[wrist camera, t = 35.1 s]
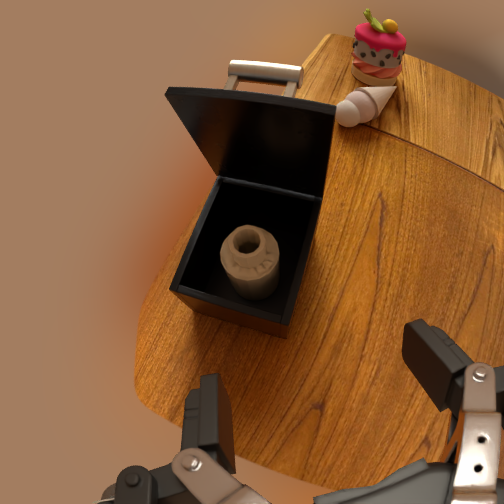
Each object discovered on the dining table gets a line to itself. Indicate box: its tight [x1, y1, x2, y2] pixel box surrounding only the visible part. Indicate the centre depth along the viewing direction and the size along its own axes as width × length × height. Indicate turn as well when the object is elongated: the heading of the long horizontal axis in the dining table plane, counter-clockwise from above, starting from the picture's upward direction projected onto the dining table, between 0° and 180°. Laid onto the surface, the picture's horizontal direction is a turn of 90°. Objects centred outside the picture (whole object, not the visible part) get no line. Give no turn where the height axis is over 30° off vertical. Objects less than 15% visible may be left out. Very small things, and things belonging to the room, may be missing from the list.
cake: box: [351, 9, 406, 87], centre depth 46 cm, size 10×11×15 cm
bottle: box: [220, 225, 280, 301], centre depth 32 cm, size 6×6×10 cm
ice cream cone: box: [335, 86, 397, 127], centre depth 45 cm, size 6×6×15 cm
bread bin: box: [169, 176, 323, 339], centre depth 34 cm, size 14×12×9 cm
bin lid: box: [165, 60, 337, 198], centre depth 25 cm, size 14×12×6 cm
